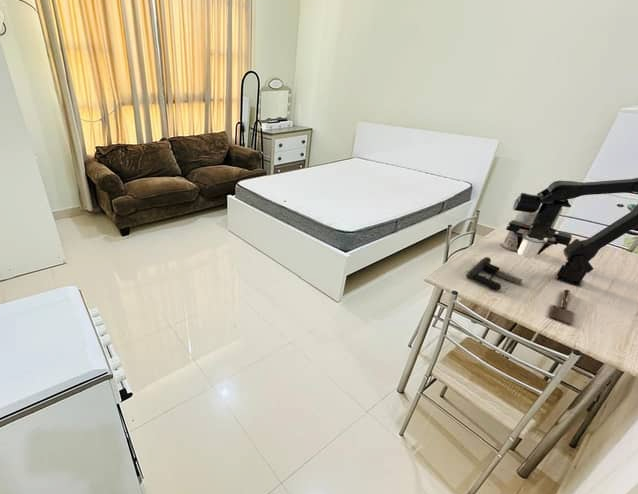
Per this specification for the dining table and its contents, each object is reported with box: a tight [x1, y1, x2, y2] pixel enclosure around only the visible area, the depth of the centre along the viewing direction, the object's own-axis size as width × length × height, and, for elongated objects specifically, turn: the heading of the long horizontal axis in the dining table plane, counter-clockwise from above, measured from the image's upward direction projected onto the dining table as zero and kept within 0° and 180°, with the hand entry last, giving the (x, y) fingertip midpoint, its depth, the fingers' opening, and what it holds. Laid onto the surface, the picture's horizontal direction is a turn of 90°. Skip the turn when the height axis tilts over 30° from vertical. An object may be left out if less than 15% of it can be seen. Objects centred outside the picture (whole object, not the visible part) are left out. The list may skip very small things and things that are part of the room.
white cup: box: [517, 235, 546, 259], centre depth 126 cm, size 7×7×7 cm
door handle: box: [464, 256, 523, 291], centre depth 124 cm, size 3×20×16 cm
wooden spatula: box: [549, 289, 574, 326], centre depth 110 cm, size 5×22×2 cm, turn 134°
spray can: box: [502, 207, 540, 252], centre depth 141 cm, size 8×8×20 cm
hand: (527, 251), depth 127 cm, fingers closed on white cup, 6 cm apart
